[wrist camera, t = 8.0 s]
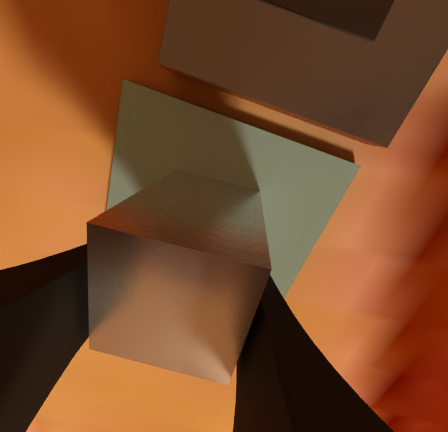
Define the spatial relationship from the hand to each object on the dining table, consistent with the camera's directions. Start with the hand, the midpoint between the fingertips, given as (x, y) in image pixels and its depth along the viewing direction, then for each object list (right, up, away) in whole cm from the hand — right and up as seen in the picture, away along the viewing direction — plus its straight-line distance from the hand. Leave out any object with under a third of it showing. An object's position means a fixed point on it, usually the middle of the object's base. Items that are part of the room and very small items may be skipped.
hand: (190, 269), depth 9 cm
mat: (+1, +2, +4) cm, 4 cm away
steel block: (+1, +2, +3) cm, 4 cm away
